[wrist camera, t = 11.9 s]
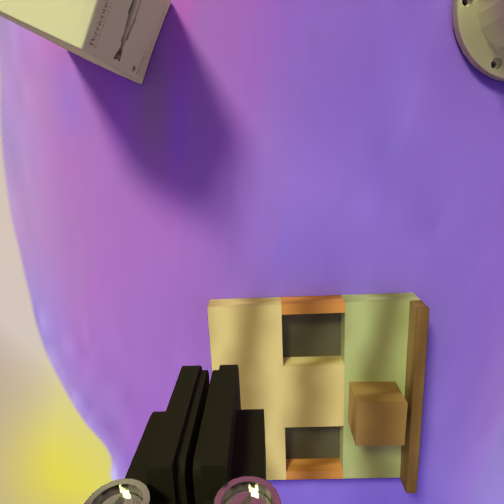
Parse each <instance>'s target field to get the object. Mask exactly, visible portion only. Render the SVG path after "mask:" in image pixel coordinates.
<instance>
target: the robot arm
mask: <svg viewBox="0 0 504 504" xmlns="http://www.w3.org/2000/svg"><path fill="white" fill-rule="evenodd" d="M462 1H464V2H465V6H464V5H463V4H462ZM452 16H453V27H454V31H455V35H456V39H457V41H458V44H459V46H460V48H461V50H462V52H463V54H464V55H465V56H466V58H467V59H468V60H469V62H470V63H471V64H472V65H473V66H474V67H475V68H477V69H478V70H479V71H480V72H481V73H483V74H485V75H487V76H489V77H490V78H492V79H495V80H498V81H502V82H504V0H453V6H452ZM491 63H492V64H493V68H492V67H491ZM84 504H281V500H280V497H279V494H278V492H277V490H276V489H275V488H274V487H273V485H272V484H271V483H269V482H268V481H266V445H265V420H264V409H244V410H241V399H240V382H239V367H238V365H220V367H219V370H213V372H212V376H211V381H210V384H209V373H208V370H202V367H201V366H182V368H181V371H180V374H179V377H178V379H177V382H176V385H175V388H174V390H173V393H172V396H171V399H170V401H169V404H168V407H167V410H166V411H165V412H153V413H152V414H151V416H150V419H149V421H148V423H147V426H146V428H145V431H144V433H143V436H142V438H141V440H140V443H139V445H138V448H137V450H136V453H135V455H134V457H133V460H132V462H131V465H130V467H129V470H128V472H127V474H126V477H125V479H119V480H115V481H112V482H110V483H108V484H105V485H103V486H101V487H100V488H99V489H98V490H96V491H95V492H94V493H92V495H91V496H90V497H89V498H88V499H87V500H86V502H85V503H84Z"/></svg>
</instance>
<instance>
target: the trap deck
mask: <svg viewBox="0 0 504 504" xmlns="http://www.w3.org/2000/svg"><path fill="white" fill-rule="evenodd" d="M207 308H208V321H209V333H210V346H211V359H212V372H213V370H219V367H220V365H238V367H239V382H240V399H241V410H244V409H264V420H265V445H266V480H293V479H344V478H395V477H400V479H401V481H402V484H403V486H404V489H405V491H406V493H416V492H417V478H418V463H419V449H420V435H421V421H422V407H423V393H424V378H425V364H426V350H427V336H428V322H429V308H428V307H427V306H426V305H425V304H424V303H423V302H422V301H421V300H420V299H419V298H418V297H417V296H416V295H415V294H414V293H389V294H360V295H331V296H302V297H273V298H244V299H215V300H210V301H209V304H208V307H207ZM392 381H395V382H396V384H397V385H398V387H399V389H400V391H401V392H402V394H403V396H404V398H405V399H406V401H407V403H408V407H407V419H406V431H405V442H404V445H398V446H356V445H355V442H354V439H353V436H352V433H351V429H350V426H349V423H348V405H349V382H392Z"/></svg>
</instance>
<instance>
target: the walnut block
mask: <svg viewBox="0 0 504 504" xmlns="http://www.w3.org/2000/svg"><path fill="white" fill-rule="evenodd" d="M407 407H408V403H407V401H406V399H405V398H404V396H403V394H402V392H401V391H400V389H399V387H398V385H397V384H396V382H395V381H392V382H349V405H348V423H349V426H350V429H351V433H352V436H353V439H354V442H355V445H356V446H398V445H404V442H405V431H406V419H407Z"/></svg>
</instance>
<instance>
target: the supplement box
mask: <svg viewBox="0 0 504 504" xmlns="http://www.w3.org/2000/svg"><path fill="white" fill-rule="evenodd" d="M170 4H171V0H0V16H2V17H4V18H6V19H8V20H10V21H12V22H14V23H16V24H18V25H20V26H22V27H23V28H25V29H27V30H29V31H31V32H33V33H35V34H37V35H39V36H41V37H43V38H45V39H47V40H49V41H51V42H53V43H55V44H56V45H58V46H60V47H62V48H64V49H66V50H68V51H70V52H72V53H74V54H76V55H78V56H80V57H82V58H84V59H86V60H88V61H90V62H92V63H94V64H96V65H99V66H101V67H103V68H105V69H107V70H109V71H112V72H114V73H116V74H118V75H121V76H123V77H125V78H128V79H130V80H132V81H134V82H137V83H139V84H142V83H143V80H144V76H145V73H146V70H147V67H148V63H149V60H150V57H151V54H152V51H153V49H154V46H155V43H156V40H157V37H158V35H159V32H160V29H161V27H162V24H163V21H164V19H165V16H166V14H167V11H168V9H169V6H170Z"/></svg>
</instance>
